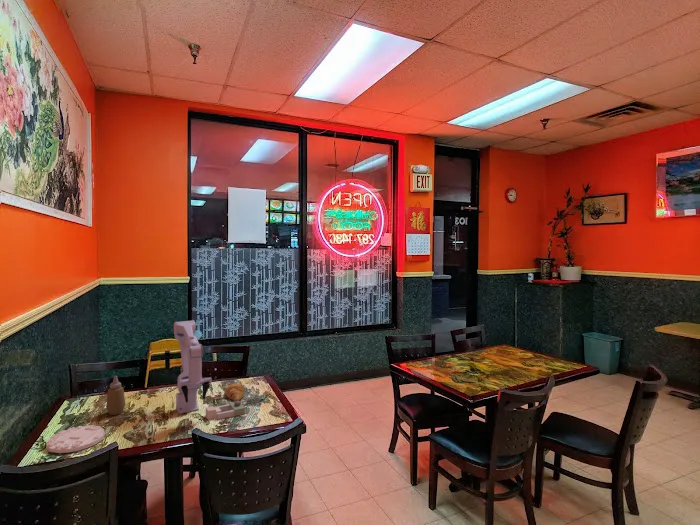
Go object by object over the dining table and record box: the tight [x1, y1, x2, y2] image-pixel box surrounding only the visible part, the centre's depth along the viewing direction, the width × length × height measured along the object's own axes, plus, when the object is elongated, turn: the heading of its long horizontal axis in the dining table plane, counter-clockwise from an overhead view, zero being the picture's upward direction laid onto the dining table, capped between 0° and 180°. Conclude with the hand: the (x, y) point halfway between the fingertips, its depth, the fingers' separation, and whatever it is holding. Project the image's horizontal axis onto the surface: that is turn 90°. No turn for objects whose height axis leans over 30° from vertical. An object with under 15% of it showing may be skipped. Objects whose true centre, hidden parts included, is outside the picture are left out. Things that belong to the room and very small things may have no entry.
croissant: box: [224, 382, 245, 402], centre depth 218 cm, size 21×10×8 cm, turn 24°
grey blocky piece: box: [214, 400, 246, 420], centre depth 196 cm, size 13×10×5 cm
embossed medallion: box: [46, 424, 106, 454], centre depth 166 cm, size 20×20×3 cm
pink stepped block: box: [205, 405, 221, 420], centre depth 192 cm, size 6×5×4 cm
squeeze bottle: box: [105, 375, 126, 416], centre depth 194 cm, size 8×8×18 cm
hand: (195, 400), depth 188 cm, fingers open, 7 cm apart
